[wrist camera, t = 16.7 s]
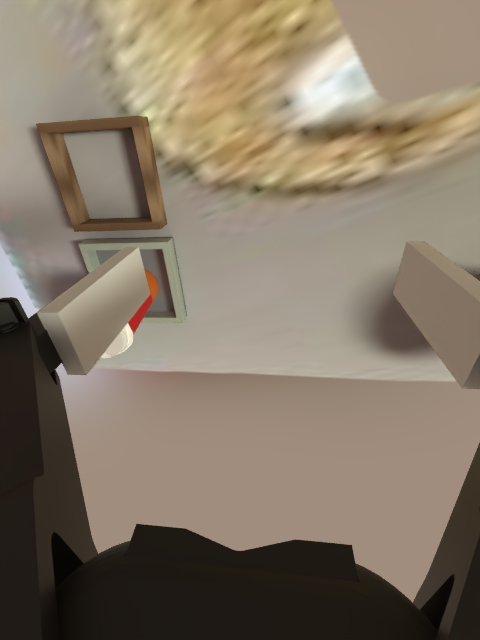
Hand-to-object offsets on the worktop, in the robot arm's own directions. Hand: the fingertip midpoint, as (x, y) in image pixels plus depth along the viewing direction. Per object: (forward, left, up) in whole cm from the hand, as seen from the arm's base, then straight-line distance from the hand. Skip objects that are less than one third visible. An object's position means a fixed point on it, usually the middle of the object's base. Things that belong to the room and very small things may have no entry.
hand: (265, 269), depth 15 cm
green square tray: (+13, -22, -29) cm, 39 cm away
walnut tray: (-2, -22, -29) cm, 36 cm away
